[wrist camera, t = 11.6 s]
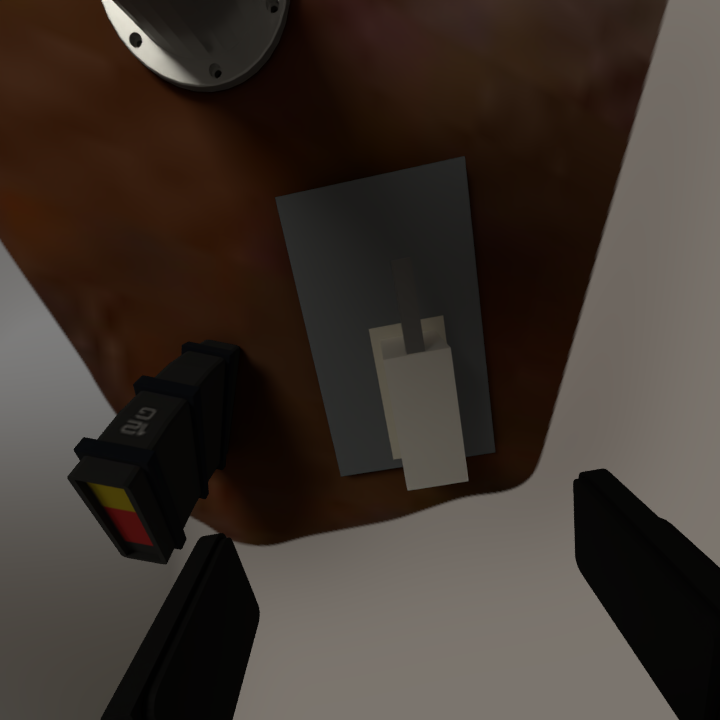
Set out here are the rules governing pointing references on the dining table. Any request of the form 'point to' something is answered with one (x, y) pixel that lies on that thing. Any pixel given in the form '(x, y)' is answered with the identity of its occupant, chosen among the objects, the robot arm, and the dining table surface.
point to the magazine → (161, 452)
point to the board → (387, 299)
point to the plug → (422, 394)
